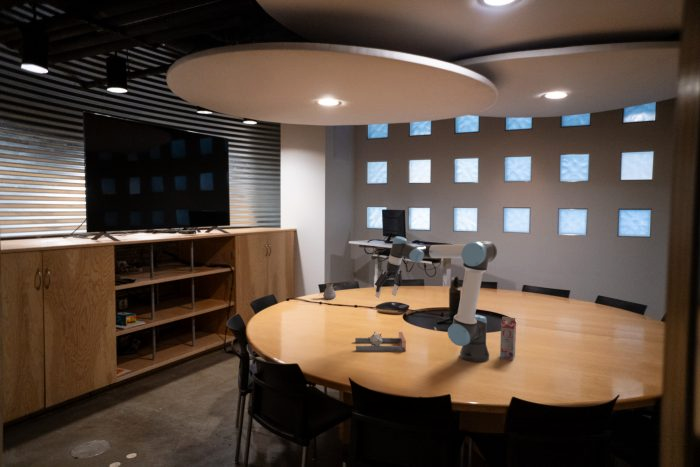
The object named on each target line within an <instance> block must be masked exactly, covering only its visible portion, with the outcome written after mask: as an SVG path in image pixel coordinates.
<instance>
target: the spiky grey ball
mask: <svg viewBox="0 0 700 467" xmlns="http://www.w3.org/2000/svg"><path fill="white" fill-rule="evenodd" d="M367 338H370V341H371V343H370V344H371V345H370V346H381V345H382V344H383V343H382V342H384V341H383V339H382V338H383V336H382V333H376V331H374V333H372V335H370V337H369V336H368V337H367Z"/></svg>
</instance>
